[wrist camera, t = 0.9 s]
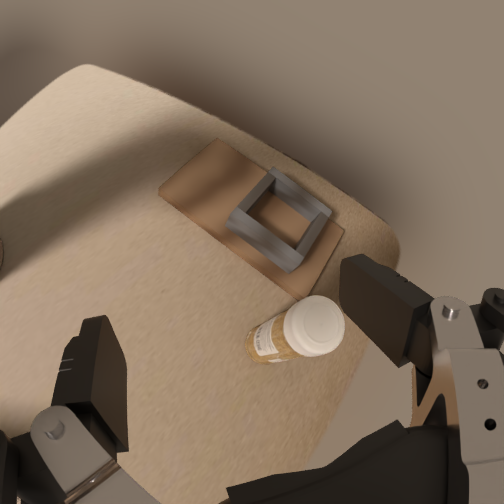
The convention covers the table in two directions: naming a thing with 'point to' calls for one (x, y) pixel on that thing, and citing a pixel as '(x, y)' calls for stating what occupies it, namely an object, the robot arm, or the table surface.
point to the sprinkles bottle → (298, 332)
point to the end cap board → (256, 215)
